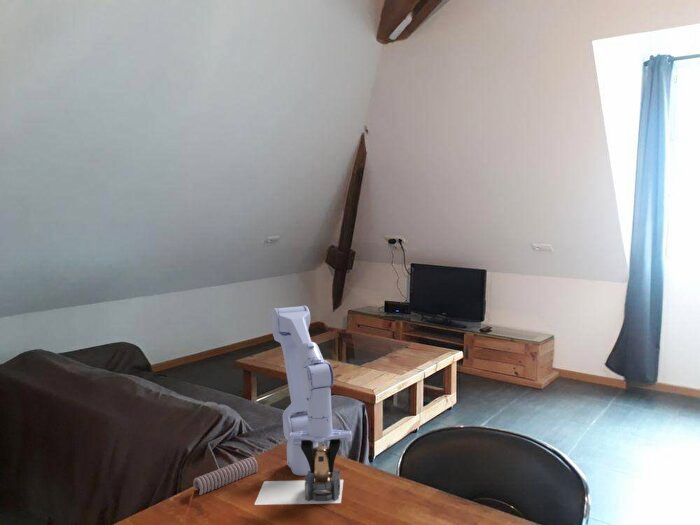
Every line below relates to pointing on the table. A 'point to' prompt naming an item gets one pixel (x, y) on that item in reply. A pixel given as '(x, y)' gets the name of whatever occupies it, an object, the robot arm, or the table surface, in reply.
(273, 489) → the base board
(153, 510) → the table surface
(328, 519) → the table surface
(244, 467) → the coil
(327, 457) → the tube
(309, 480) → the collar stand
